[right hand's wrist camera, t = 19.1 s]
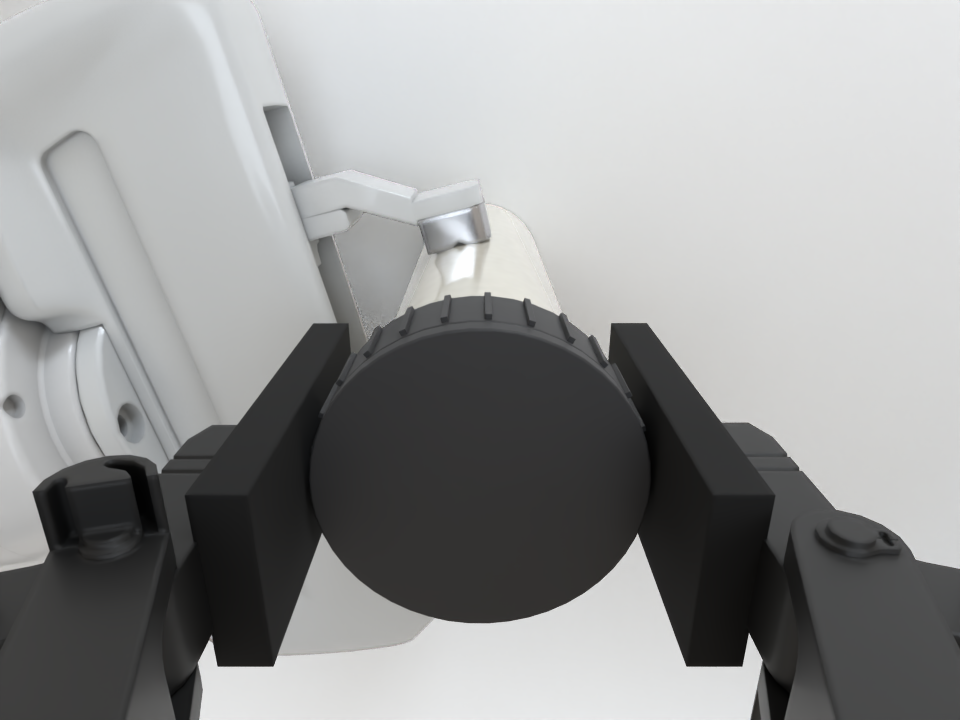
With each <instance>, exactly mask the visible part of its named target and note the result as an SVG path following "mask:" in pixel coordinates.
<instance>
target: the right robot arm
mask: <svg viewBox="0 0 960 720" xmlns="http://www.w3.org/2000/svg"><path fill="white" fill-rule="evenodd" d="M350 355H351V347H350V334H349V323H313V324H312V326H311V327H310V328H309V330H308V331H307V332H306V334H305V335H304V336H303V338H302V339H301V340H300V342H299V343H298V344H297V346H296V347H295V348H294V350H293V351H292V352H291V354H290V355H289V356H288V358H287V359H286V360H285V362H284V363H283V364H282V366H281V367H280V368H279V370H278V371H277V372H276V374H275V375H274V376H273V378H272V379H271V380H270V382H269V383H268V384H267V386H266V387H265V388H264V390H263V391H262V392H261V394H260V395H259V396H258V398H257V399H256V400H255V402H254V403H253V404H252V406H251V407H250V408H249V410H248V411H247V412H246V414H245V415H244V416H243V418H242V419H241V420H240V422H239V423H238V424H237V425H211V426H209V427H208V428H206V429H204V430H203V431H201V432H199V433H198V434H196V435H194V436H193V437H191V438H189V439H188V440H187V441H186V442H185V443H184V444H183V445H182V447H181V448H180V449H179V450H178V451H177V452H176V454H175V455H174V456H173V457H174V458H173V459H170V461H169V462H168V463H167V464H166V465H165V466H164V467H163V469H162V470H161V471H162V472H161V473H158V470H157V465H156V464H155V463H153V462H152V461H150V460H149V459H148V458H145V457H139V456H134V455H113V456H105V457H100V458H95V459H90V460H86V461H83V462H80V463H77V464H75V465H72V466H69V467H66V468H64V469H62V470H60V471H58V472H56V473H55V474H53V475H51V476H50V477H48V478H46V479H44V480H43V481H42V482H41V483H40V484H39V485H38V486H37V487H36V488H35V489H34V490H33V491H32V493H33V496H34V500H35V503H36V507H37V510H38V513H39V517H40V520H41V524H42V527H43V530H44V534H45V537H46V541H47V544H48V547H49V553H48V555H47V557H46V559H45V561H44V563H42V564H38V565H34V566H29V567H24V568H18V569H13V570H8V571H3V572H0V720H199V716H200V708H201V699H202V691H203V689H202V682H201V676H200V671H199V667H198V661H199V659H200V657H201V655H202V653H203V651H204V649H205V647H206V645H207V643H208V641H209V639H210V637H211V635H212V640H213V645H214V650H215V655H216V660H217V665H218V667H273V666H274V664H275V661H276V658H277V655H278V653H279V650H280V647H281V644H282V642H283V639H284V636H285V633H286V631H287V628H288V625H289V623H290V620H291V617H292V614H293V612H294V609H295V606H296V603H297V601H298V598H299V595H300V592H301V590H302V587H303V584H304V581H305V579H306V576H307V573H308V570H309V568H310V565H311V562H312V560H313V557H314V554H315V551H316V549H317V546H318V543H319V540H320V538H321V535H322V531H321V528H320V526H319V524H318V521H317V519H316V516H315V512H314V508H313V504H312V501H311V496H310V485H309V465H310V455H311V453H310V451H311V447H312V445H313V441H314V438H315V435H316V432H317V430H318V427H319V424H320V422H321V419H320V418H318V415H319V413H320V411H321V409H322V407H323V405H324V403H325V401H326V399H327V397H328V395H329V393H330V391H331V389H332V387H333V385H334V383H335V382H336V381H337V380H338V378H339V376H340V374H341V372H342V370H343V368H344V366H345V364H346V362H347V360H348V358H349V356H350ZM608 361H609V363H610V364H611V365H612V364H614V363H616V365H617V367H618V369H619V371H620V373H621V374H622V376H623V378H624V380H625V382H626V384H627V386H628V388H629V390H630V392H631V394H632V397H631V399H632V401H633V403H634V405H635V407H636V409H637V411H638V413H639V415H640V417H641V419H642V421H643V423H644V425H645V427H646V431H645V432H644V435H645V438H646V441H647V445H648V450H649V456H650V461H651V487H650V495H649V501H648V505H647V509H646V512H645V516H644V519H643V522H642V524H641V526H640V528H639V531H638V535H639V538H640V540H641V543H642V546H643V549H644V551H645V554H646V557H647V559H648V562H649V565H650V568H651V570H652V573H653V576H654V579H655V581H656V584H657V587H658V590H659V592H660V595H661V598H662V601H663V603H664V606H665V609H666V612H667V614H668V617H669V620H670V622H671V625H672V628H673V631H674V633H675V636H676V639H677V642H678V644H679V647H680V650H681V653H682V655H683V658H684V661H685V664H686V666H687V667H742V666H743V660H744V655H745V650H746V645H747V640H748V635H749V634H750V635H751V637H752V639H753V641H754V643H755V645H756V647H757V649H758V651H759V653H760V655H761V657H762V659H763V662H762V667H761V671H760V676H759V681H758V686H757V690H756V695H755V700H754V705H753V710H752V714H751V720H960V569H957V568H952V567H947V566H941V565H936V564H931V563H926V562H922V561H918V560H915V558H914V556H913V554H912V552H911V550H910V549H909V548H908V546H907V545H906V544H905V543H904V541H903V540H902V539H901V538H900V537H899V536H898V535H896V534H895V533H893V532H892V531H890V530H889V529H887V528H886V527H885V526H883V525H881V524H879V523H877V522H874V521H872V520H870V519H867V518H865V517H863V516H860V515H856V514H852V513H848V512H843V511H839V510H836V509H835V508H834V507H833V506H832V505H831V504H830V502H829V501H828V500H827V499H826V498H825V497H824V496H823V494H822V493H821V492H820V491H819V490H818V489H817V488H816V486H815V485H814V484H813V483H812V482H811V481H810V480H809V478H808V477H807V476H806V475H805V474H804V473H803V471H799V467H798V466H797V465H796V463H795V462H794V461H793V460H792V459H791V458H790V457H787V453H786V452H785V451H784V450H783V448H782V447H781V446H780V445H779V444H778V443H777V442H776V440H775V439H774V438H773V437H772V436H770V435H768V434H767V433H765V432H763V431H761V430H760V429H758V428H756V427H755V426H753V425H751V424H749V423H721V422H720V420H719V419H718V418H717V416H716V415H715V414H714V412H713V411H712V410H711V408H710V407H709V406H708V404H707V403H706V402H705V400H704V399H703V398H702V396H701V395H700V394H699V392H698V391H697V390H696V388H695V387H694V386H693V384H692V383H691V382H690V380H689V379H688V378H687V376H686V375H685V374H684V372H683V371H682V370H681V368H680V367H679V366H678V364H677V363H676V362H675V360H674V359H673V358H672V356H671V355H670V354H669V352H668V351H667V350H666V348H665V347H664V346H663V344H662V343H661V342H660V340H659V339H658V338H657V336H656V335H655V334H654V332H653V331H652V330H651V328H650V327H649V326H648V324H647V323H611V334H610V347H609V360H608Z"/></svg>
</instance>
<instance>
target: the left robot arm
mask: <svg viewBox="0 0 960 720" xmlns="http://www.w3.org/2000/svg"><path fill="white" fill-rule="evenodd" d="M363 212H365V213H369V214H373V215H376V216H380V217H384V218H388V219H392V220H395V221H399V222H403V223H407V224H411V225H414V226H418V225H419V227H420V230H421V233H422V236H423V240H424V243H425V246H426V249H427V253H428V255H431V254H435V253H439V252H443V251H447V250H449V249H452V248H453V247H454V246H455V245H456V244H457V243H458V242H461V243H463V244H466V245H468V244H475V243H479V242H482V241H485V240H487V239H489V238H490V237H491V228H490V223H489V219H488V214H487V210H486V205H485V201H484V197H483V193H482V189H481V185H480V181H479V179H475V180H467V181H464V182H460V183H456V184H452V185H448V186H444V187H440V188H436V189H432V190H429V191H425V192H421V193H418V191H417V189H416V188H412V187H409V186H405V185H402V184H399V183H395V182H392V181H388V180H385V179H382V178H378V177H375V176H372V175H368V174H365V173H361V172H358V171H355V170H351V169H349V170H346V171H342V172H338V173H334V174H330V175H327V176H323V177H319V178H315V179H314V176H313V173H312V170H311V167H310V164H309V161H308V158H307V155H306V152H305V149H304V146H303V143H302V140H301V137H300V134H299V131H298V128H297V125H296V122H295V119H294V116H293V113H292V110H291V107H290V104H289V101H288V98H287V95H286V92H285V89H284V86H283V83H282V80H281V77H280V74H279V71H278V68H277V65H276V62H275V59H274V56H273V53H272V50H271V47H270V44H269V41H268V38H267V35H266V32H265V28H264V25H263V22H262V19H261V17H260V14H259V11H258V10H257V8H256V6H255V5H254V3H253V2H252V1H251V0H46V1H44V2H42V3H40V4H37V5H35V6H33V7H31V8H29V9H27V10H25V11H22V12H20V13H18V14H16V15H14V16H12V17H10V18H8V19H7V20H5V21H3V22H1V23H0V572H3V571H8V570H13V569H18V568H24V567H29V566H34V565H38V564H42V563H44V561H45V559H46V557H47V555H48V553H49V547H48V544H47V541H46V537H45V534H44V530H43V527H42V524H41V520H40V517H39V513H38V510H37V507H36V503H35V500H34V496H33V493H32V491H33V490H34V489H35V488H36V487H37V486H38V485H39V484H40V483H41V482H42V481H43V480H44V479H46V478H48V477H50V476H51V475H53V474H55V473H56V472H58V471H60V470H62V469H64V468H66V467H69V466H72V465H75V464H77V463H80V462H83V461H86V460H90V459H95V458H100V457H105V456H113V455H134V456H139V457H145V458H148V459H149V460H150V461H152V462H153V463H155V464H156V465H157V470H158V473H161V472H162V471H161V470H162V469H163V467H164V466H165V465H166V464H167V463H168V462H169V461H170V459H173V458H174V457H173V456H174V455H175V454H176V452H177V451H178V450H179V449H180V448H181V447H182V445H183V444H184V443H185V442H186V441H187V440H188V439H189V438H191V437H193V436H194V435H196V434H198V433H199V432H201V431H203V430H204V429H206V428H208V427H209V426H211V425H237V424H238V423H239V422H240V420H241V419H242V418H243V416H244V415H245V414H246V412H247V411H248V410H249V408H250V407H251V406H252V404H253V403H254V402H255V400H256V399H257V398H258V396H259V395H260V394H261V392H262V391H263V390H264V388H265V387H266V386H267V384H268V383H269V382H270V380H271V379H272V378H273V376H274V375H275V374H276V372H277V371H278V370H279V368H280V367H281V366H282V364H283V363H284V362H285V360H286V359H287V358H288V356H289V355H290V354H291V352H292V351H293V350H294V348H295V347H296V346H297V344H298V343H299V342H300V340H301V339H302V338H303V336H304V335H305V334H306V332H307V331H308V330H309V328H310V327H311V326H312V324H313V323H349V334H350V347H351V353H352V352H354V353H356V354H357V353H358V352H359V351H360V349H361V348H362V347H363V346H364V345H365V344H366V343H367V342H368V338H367V335H366V332H365V329H364V326H363V323H362V320H361V317H360V314H359V311H358V308H357V305H356V302H355V299H354V296H353V293H352V290H351V287H350V284H349V281H348V278H347V275H346V272H345V269H344V266H343V263H342V260H341V257H340V254H339V251H338V248H337V245H336V242H335V239H334V236H333V235H334V234H338V233H342V232H345V231H348V230H349V229H350V228H351V227H352V226H353V225H354V224H355V223H356V222H357V221H358V220H359V219H360V218H361V216H362V215H363ZM433 619H434V618H433V617H428V616H425V615H422V614H419V613H416V612H413V611H410V610H408V609H406V608H403V607H401V606H399V605H397V604H395V603H392V602H390V601H389V600H387V599H385V598H384V597H382V596H380V595H379V594H377V593H375V592H374V591H372V590H371V589H370V588H369V587H367V586H366V585H365V584H363V583H362V582H361V581H359V580H358V579H357V578H356V577H355V576H354V575H353V574H352V573H351V572H350V571H349V570H348V569H347V568H346V567H345V566H344V565H343V563H342V562H341V561H340V560H339V558H338V557H337V556H336V554H335V553H334V552H333V551H332V549H331V547H330V545H329V544H328V542H327V540H326V539H325V537H324V535H323V533H322V535H321V538H320V540H319V543H318V546H317V549H316V551H315V554H314V557H313V560H312V562H311V565H310V568H309V570H308V573H307V576H306V579H305V581H304V584H303V587H302V590H301V592H300V595H299V598H298V601H297V603H296V606H295V609H294V612H293V614H292V617H291V620H290V623H289V625H288V628H287V631H286V633H285V636H284V639H283V642H282V644H281V647H280V650H279V653H278V655H277V656H287V655H310V654H324V653H338V652H349V651H359V650H367V649H375V648H383V647H389V646H396V645H400V644H404V643H407V642H410V641H411V640H413V639H415V638H416V637H417V636H418V635H419V634H420V633H421V632H422V631H423V630H424V629H425V628H426V627H427V626H428V625H429V623H430V622H431V621H432V620H433ZM209 640H210V641H211V642H212V643H213V640H212V635H211V637H210V639H209Z"/></svg>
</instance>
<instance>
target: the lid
mask: <svg viewBox="0 0 960 720" xmlns="http://www.w3.org/2000/svg"><path fill="white" fill-rule="evenodd" d="M631 397H632V394H631V392H630V390H629V388H628V386H627V384H626V382H625V380H624V378H623V376H622V374H621V373H620V371H619V369H618V367H617V365H616V363H614V364H612V365H611V364H610V363H609V361H608V360H607V359H606V357H605V356H604V354H603V352H602V350H601V348H600V346H599V344H598V342H597V340H596V338H595V337H594V336H593V335H591V336H590V337H589V338H588V337H587V335H585V334H584V333H583V332H582V331H580V330H579V329H578V328H576V327H575V326H574V325H573V324H571V323H570V322H569V321H568V319H567V316H566V315H565V314H563V313H560V315H559V316H558V315H556V314H555V313H553V312H551V311H548V310H546V309H543V308H541V307H539V306H536V305H534V304H531V300H530V299H527V298H524V301H519V300H515V299H510V298H503V297H496V296H491V292H485V293H484V296H465V297H457V298H451V295H445V296H444V300H441V301H437V302H433V303H429V304H427V305H424V306H422V307H419V308H417V309H414V308H413V306H411V307H409V308H407V310H406V312H405V314H404V315H402V316H400V317H399V318H397V319H395V320H393V321H392V322H390V323H389V324H388V325H386V326H385V327H384V328H381V327H380V326H378V327H376V328H375V329H374V331H373V334H372V336H371V338H370V340H369V341H368V342H367V343H366V344H365V345H364V346H363V347H362V348H361V349H360V351H359V352H358V353H357V354H356V353H354V352H352V353H351V355H350V356H349V358H348V360H347V362H346V364H345V366H344V368H343V370H342V372H341V374H340V376H339V378H338V380H337V381H336V382H335V383H334V385H333V387H332V389H331V391H330V393H329V395H328V397H327V399H326V401H325V403H324V405H323V407H322V409H321V411H320V413H319V415H318V418H320V419H321V422H320V424H319V427H318V430H317V432H316V435H315V438H314V441H313V445H312V447H311V451H310V453H311V455H310V465H309V485H310V496H311V501H312V504H313V508H314V512H315V516H316V519H317V521H318V524H319V526H320V528H321V531H322V533H323V535H324V537H325V539H326V540H327V542H328V544H329V545H330V547H331V549H332V551H333V552H334V553H335V554H336V556H337V557H338V558H339V560H340V561H341V562H342V563H343V565H344V566H345V567H346V568H347V569H348V570H349V571H350V572H351V573H352V574H353V575H354V576H355V577H356V578H357V579H358V580H359V581H361V582H362V583H363V584H365V585H366V586H367V587H369V588H370V589H371V590H372V591H374V592H375V593H377V594H379V595H380V596H382V597H384V598H385V599H387V600H389V601H390V602H392V603H395V604H397V605H399V606H401V607H403V608H406V609H408V610H410V611H413V612H416V613H419V614H422V615H425V616H428V617H433V618H438V619H442V620H447V621H454V622H463V623H496V622H507V621H513V620H518V619H523V618H528V617H531V616H534V615H538V614H541V613H544V612H547V611H550V610H552V609H554V608H557V607H559V606H561V605H563V604H566V603H568V602H569V601H571V600H573V599H575V598H576V597H578V596H580V595H582V594H583V593H585V592H586V591H587V590H589V589H590V588H591V587H593V586H594V585H595V584H597V583H598V582H599V581H601V580H602V579H603V578H604V577H605V576H606V575H607V574H608V573H609V572H610V571H611V570H612V569H613V568H614V567H615V566H616V564H617V563H618V562H619V561H620V560H621V558H622V557H623V556H624V555H625V554H626V552H627V550H628V549H629V547H630V545H631V544H632V542H633V541H634V539H635V537H636V535H637V533H638V531H639V528H640V526H641V524H642V522H643V519H644V516H645V512H646V509H647V505H648V501H649V495H650V487H651V461H650V456H649V450H648V445H647V441H646V438H645V435H644V432H645V431H646V427H645V425H644V423H643V421H642V419H641V417H640V415H639V413H638V411H637V409H636V407H635V405H634V403H633V401H632V399H631Z"/></svg>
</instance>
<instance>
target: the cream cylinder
mask: <svg viewBox="0 0 960 720" xmlns="http://www.w3.org/2000/svg"><path fill="white" fill-rule="evenodd" d="M485 205H486V210H487V214H488V219H489V223H490V228H491V237H490V238H489V239H487V240H485V241H482V242H479V243H475V244H468V245H466V244H463V243H461V242H458V243H457V244H456V245H455V246H454V247H453V248H452V249H449V250H447V251H443V252H439V253H435V254H431V255H428V253H427V249H426V246H425V243H424V246H423V249H422V251H421V254H420V256H419V259H418V261H417V264H416V267H415V269H414V272H413V274H412V277H411V279H410V282H409V285H408V287H407V290H406V292H405V295H404V298H403V300H402V303H401V305H400V308H399V310H398V313H397V316H396V318H395V319H397V318H399V317H400V316H402V315H404V314H405V312H406V310H407V308H409V307H411V306H413V308H414V309H417V308H419V307H422V306H424V305H427V304H429V303H433V302H437V301H441V300H444V296H445V295H451V298H457V297H465V296H484V293H485V292H491V296H496V297H503V298H510V299H515V300H519V301H524V298H527V299H530V300H531V304H534V305H536V306H539V307H541V308H543V309H546V310H548V311H551V312H553V313H555V314H556V315H558V316H559V315H560V313H562V311H561V308H560V305H559V303H558V300H557V298H556V295H555V293H554V290H553V287H552V285H551V282H550V280H549V277H548V275H547V272H546V269H545V267H544V264H543V262H542V259H541V257H540V254H539V251H538V249H537V246H536V244H535V241H534V239H533V237H532V235H531V233H530V231H529V229H528V228H527V227H526V225H525V224H524V223H523V222H522V221H521V220H520V219H519V218H518V217H517V216H516V215H514V214H513V213H511V212H510V211H508V210H506V209H504V208H502V207H499V206H496V205H491V204H485Z"/></svg>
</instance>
